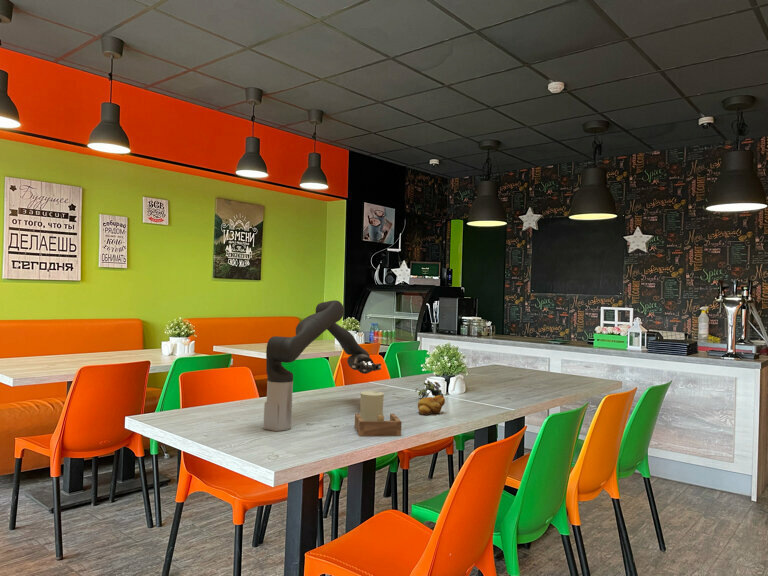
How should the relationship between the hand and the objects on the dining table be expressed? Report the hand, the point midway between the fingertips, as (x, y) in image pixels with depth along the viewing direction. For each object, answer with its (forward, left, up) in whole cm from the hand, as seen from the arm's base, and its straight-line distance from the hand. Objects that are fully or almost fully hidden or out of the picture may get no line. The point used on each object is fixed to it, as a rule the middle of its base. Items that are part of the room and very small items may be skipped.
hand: (370, 369), depth 225 cm
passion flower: (+53, -1, -20) cm, 56 cm away
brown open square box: (-16, -14, -20) cm, 29 cm away
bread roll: (+25, -15, -20) cm, 35 cm away
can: (-6, -5, -20) cm, 22 cm away
